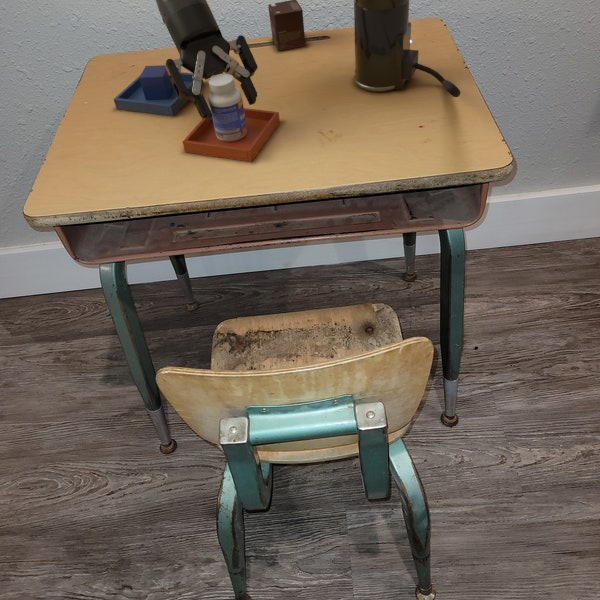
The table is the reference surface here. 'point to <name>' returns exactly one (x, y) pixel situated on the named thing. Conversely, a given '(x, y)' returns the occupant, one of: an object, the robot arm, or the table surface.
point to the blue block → (156, 83)
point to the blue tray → (136, 101)
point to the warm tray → (243, 149)
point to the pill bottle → (227, 108)
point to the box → (287, 24)
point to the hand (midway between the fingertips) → (231, 110)
